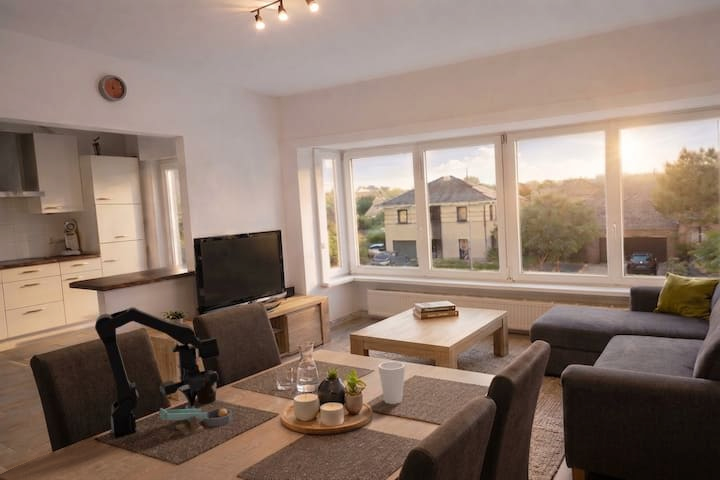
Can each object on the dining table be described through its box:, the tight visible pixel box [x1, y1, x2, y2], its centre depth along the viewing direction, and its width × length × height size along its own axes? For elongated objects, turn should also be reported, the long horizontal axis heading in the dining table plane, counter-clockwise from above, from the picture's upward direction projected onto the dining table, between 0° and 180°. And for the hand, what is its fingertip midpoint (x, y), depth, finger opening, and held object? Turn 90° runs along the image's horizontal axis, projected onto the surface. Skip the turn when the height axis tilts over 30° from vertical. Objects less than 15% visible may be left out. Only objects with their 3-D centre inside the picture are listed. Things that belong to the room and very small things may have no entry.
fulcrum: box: [157, 416, 205, 441], centre depth 172 cm, size 13×8×5 cm, turn 129°
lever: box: [158, 405, 207, 421], centre depth 176 cm, size 14×13×3 cm
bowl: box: [202, 408, 233, 427], centre depth 180 cm, size 9×9×2 cm
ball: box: [218, 408, 228, 418], centre depth 182 cm, size 3×3×3 cm
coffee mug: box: [196, 381, 217, 405], centre depth 200 cm, size 12×9×10 cm
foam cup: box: [378, 360, 406, 405], centre depth 190 cm, size 10×9×13 cm
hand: (191, 406), depth 183 cm, fingers closed
